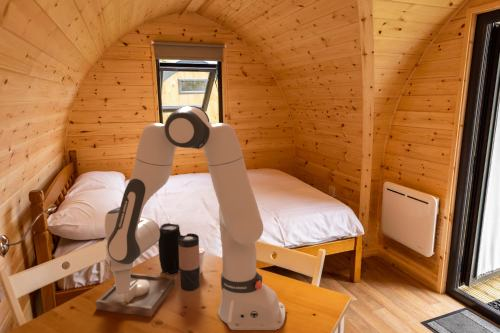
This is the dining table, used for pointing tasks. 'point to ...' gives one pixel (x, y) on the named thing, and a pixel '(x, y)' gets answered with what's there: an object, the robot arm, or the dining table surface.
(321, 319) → the dining table surface
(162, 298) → the panel
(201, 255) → the smoothie
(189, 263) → the travel mug
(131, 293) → the beige rounded piece
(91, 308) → the dining table surface
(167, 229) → the portable speaker
